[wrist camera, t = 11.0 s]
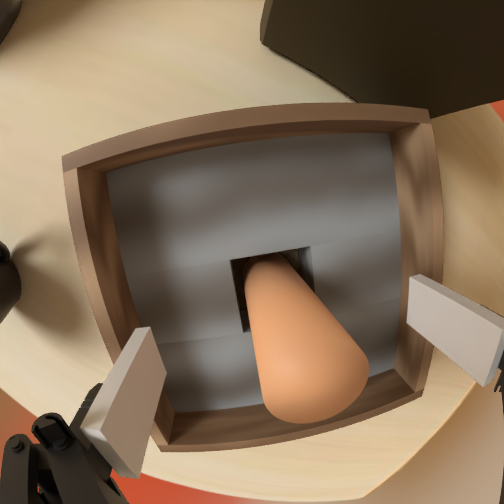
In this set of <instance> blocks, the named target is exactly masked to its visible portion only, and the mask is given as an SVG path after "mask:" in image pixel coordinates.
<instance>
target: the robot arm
mask: <svg viewBox="0 0 504 504" xmlns="http://www.w3.org/2000/svg"><path fill="white" fill-rule="evenodd" d="M20 7H21V0H0V43H1V41H2V40H3V38H4V37H5V35H6V34H7V32H8V31H9V29H10V27H11V26H12V24H13V22H14V20H15V18H16V16H17V14H18V12H19V10H20ZM406 323H407V324H409V325H410V326H411V327H412V328H413V329H415V330H416V331H417V332H418V333H420V334H421V335H422V336H423V337H425V338H426V339H427V340H428V341H429V342H431V343H432V344H433V345H434V346H436V347H437V348H438V349H439V350H440V351H442V352H443V353H444V354H445V355H446V356H447V357H449V358H450V359H451V360H452V361H453V362H455V363H456V364H457V365H458V366H459V367H460V368H462V369H463V370H464V371H465V372H466V373H467V374H469V375H470V376H471V377H472V378H473V379H474V380H475V381H476V382H478V383H479V384H480V385H481V386H482V387H484V386H485V385H487V384H488V383H489V382H490V381H492V380H493V379H494V376H495V374H496V371H497V369H498V368H499V369H500V370H502V372H501V374H500V376H499V379H498V381H497V384H496V386H495V388H494V392H496V390H497V388H498V386H500V385H501V387H500V390H499V392H502V402H503V413H504V317H503V316H501V315H499V314H496V313H495V312H494V311H492V310H490V309H488V308H486V307H485V306H483V305H480V304H478V303H476V302H474V301H472V300H470V299H468V298H467V297H465V296H463V295H461V294H459V293H457V292H455V291H453V290H451V289H449V288H447V287H445V286H443V285H441V284H439V283H437V282H435V281H433V280H431V279H429V278H427V277H425V276H423V275H421V274H418V275H414V276H411V277H410V278H409V298H408V311H407V322H406ZM166 374H167V372H166V370H165V367H164V364H163V362H162V359H161V356H160V354H159V351H158V348H157V345H156V342H155V340H154V337H153V334H152V331H151V328H150V327H143V328H136V329H135V331H134V332H133V334H132V335H131V337H130V339H129V340H128V342H127V344H126V345H125V347H124V349H123V350H122V352H121V354H120V355H119V357H118V359H117V360H116V362H115V364H114V366H113V367H112V369H111V371H110V373H109V374H108V376H107V378H106V380H105V381H104V383H98V384H97V385H96V386H94V387H93V388H92V389H91V390H90V391H89V393H88V394H87V396H86V398H85V401H83V403H82V405H81V408H79V410H78V412H77V413H76V415H75V417H74V419H73V421H72V422H71V424H70V426H68V425H67V423H66V422H65V421H64V419H63V418H62V416H61V415H59V414H57V413H47V414H44V415H42V416H40V417H39V418H38V419H37V420H36V421H35V422H34V424H33V425H32V433H33V434H34V436H35V437H36V438H37V439H38V441H39V442H40V443H41V444H33V443H32V442H31V440H30V439H29V438H28V437H27V436H26V435H24V434H16V435H13V436H12V437H10V438H9V439H8V441H7V442H6V444H5V448H4V454H3V460H2V468H1V478H0V504H129V503H128V501H127V500H126V498H125V497H124V495H123V494H122V492H121V491H120V489H119V487H118V486H117V484H116V482H115V481H114V479H113V478H112V477H111V476H110V474H111V471H112V468H113V469H114V471H115V472H116V473H117V474H118V475H120V477H127V478H135V479H139V477H140V473H141V468H142V464H143V460H144V456H145V452H146V448H147V444H148V440H149V436H150V432H151V428H152V424H153V420H154V417H155V413H156V409H157V406H158V402H159V398H160V395H161V391H162V388H163V384H164V381H165V377H166ZM37 486H38V487H39V493H38V487H37ZM499 504H504V470H503V481H502V489H501V496H500V502H499Z"/></svg>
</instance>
